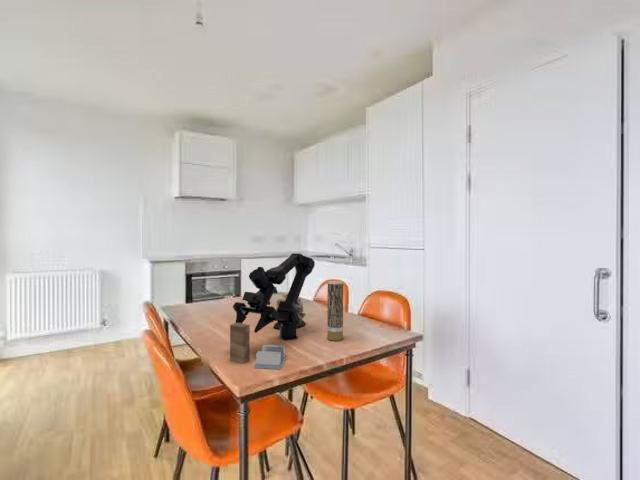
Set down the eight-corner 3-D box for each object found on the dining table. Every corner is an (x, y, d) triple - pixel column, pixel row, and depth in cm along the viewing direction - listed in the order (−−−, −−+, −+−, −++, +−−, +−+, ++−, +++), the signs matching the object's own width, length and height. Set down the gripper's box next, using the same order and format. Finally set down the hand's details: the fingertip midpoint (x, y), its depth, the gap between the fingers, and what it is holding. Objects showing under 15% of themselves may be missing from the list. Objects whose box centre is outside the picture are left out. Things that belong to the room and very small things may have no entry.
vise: (265, 353, 133) (265, 340, 133) (288, 354, 132) (288, 341, 132) (254, 367, 119) (254, 353, 119) (280, 369, 118) (280, 354, 118)
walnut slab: (236, 357, 129) (236, 322, 129) (249, 360, 126) (249, 324, 126) (230, 360, 126) (230, 324, 126) (243, 363, 123) (243, 327, 123)
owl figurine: (281, 332, 162) (280, 296, 161) (267, 327, 171) (266, 292, 170) (310, 325, 174) (310, 291, 173) (296, 321, 182) (296, 288, 182)
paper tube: (342, 336, 156) (342, 280, 155) (343, 341, 149) (344, 283, 148) (326, 336, 155) (327, 280, 155) (327, 341, 149) (328, 283, 148)
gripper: (235, 281, 137) (215, 315, 128) (274, 285, 128) (255, 321, 119) (248, 298, 144) (230, 331, 135) (286, 303, 135) (269, 338, 126)
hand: (245, 330), depth 128 cm, fingers open, 9 cm apart
